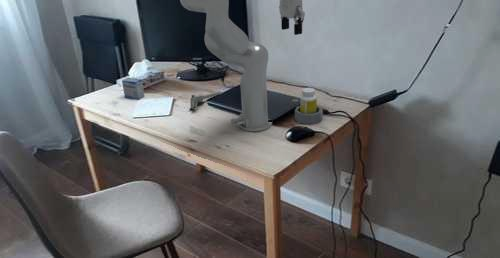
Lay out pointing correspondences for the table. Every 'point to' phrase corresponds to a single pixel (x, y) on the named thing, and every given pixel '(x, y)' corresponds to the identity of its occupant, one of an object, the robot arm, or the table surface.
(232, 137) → the table surface
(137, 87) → the medicine box
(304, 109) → the pill bottle
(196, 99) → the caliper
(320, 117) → the socket cup
